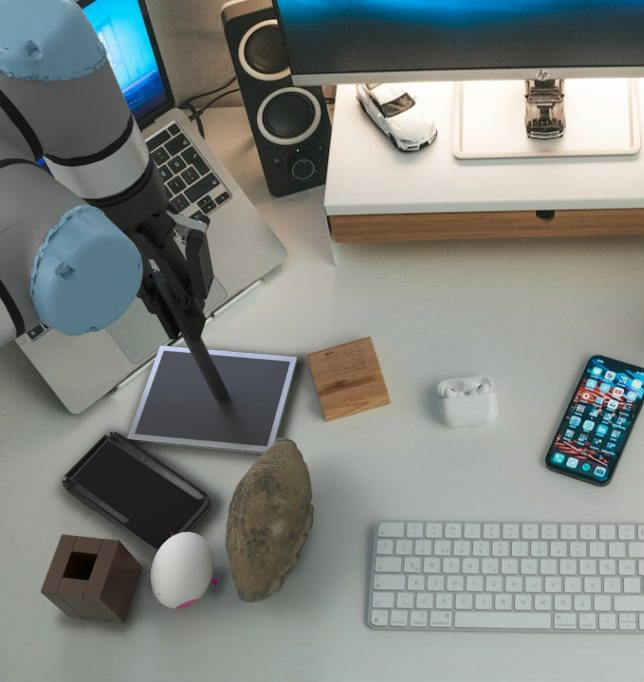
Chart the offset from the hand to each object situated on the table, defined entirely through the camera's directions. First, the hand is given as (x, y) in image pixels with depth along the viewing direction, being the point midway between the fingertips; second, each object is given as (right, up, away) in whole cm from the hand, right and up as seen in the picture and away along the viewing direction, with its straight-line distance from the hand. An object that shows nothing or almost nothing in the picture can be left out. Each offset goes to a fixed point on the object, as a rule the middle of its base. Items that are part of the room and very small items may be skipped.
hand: (188, 329), depth 107 cm
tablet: (-1, -8, +12) cm, 14 cm away
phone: (-7, -17, +6) cm, 20 cm away
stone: (+8, -21, +3) cm, 23 cm away
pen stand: (-8, -26, 0) cm, 27 cm away
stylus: (0, -7, +11) cm, 13 cm away
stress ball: (-1, -25, +1) cm, 25 cm away
